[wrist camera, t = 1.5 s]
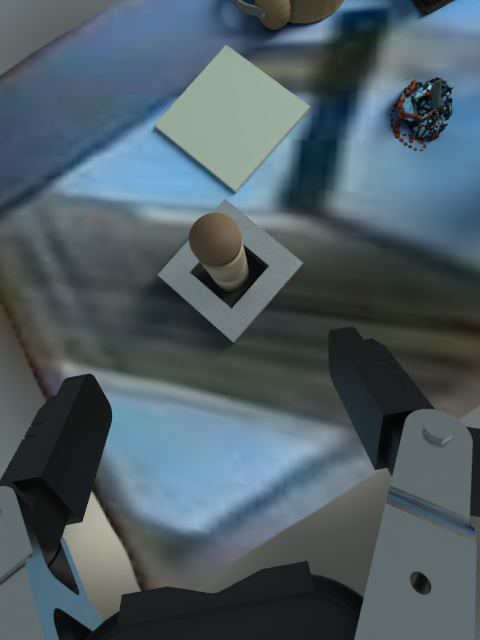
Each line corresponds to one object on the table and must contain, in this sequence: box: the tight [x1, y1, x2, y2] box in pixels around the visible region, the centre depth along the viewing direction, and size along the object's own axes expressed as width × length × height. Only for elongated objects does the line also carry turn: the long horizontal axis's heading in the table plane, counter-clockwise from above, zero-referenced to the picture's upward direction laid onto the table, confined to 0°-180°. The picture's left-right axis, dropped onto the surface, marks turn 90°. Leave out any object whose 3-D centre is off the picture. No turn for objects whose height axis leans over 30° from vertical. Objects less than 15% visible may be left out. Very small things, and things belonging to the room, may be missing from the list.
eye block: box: [158, 199, 303, 343], centre depth 35 cm, size 11×11×2 cm
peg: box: [189, 213, 249, 292], centre depth 30 cm, size 4×4×12 cm
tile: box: [154, 45, 310, 193], centre depth 38 cm, size 13×13×1 cm
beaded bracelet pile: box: [391, 77, 454, 151], centre depth 36 cm, size 8×7×8 cm
